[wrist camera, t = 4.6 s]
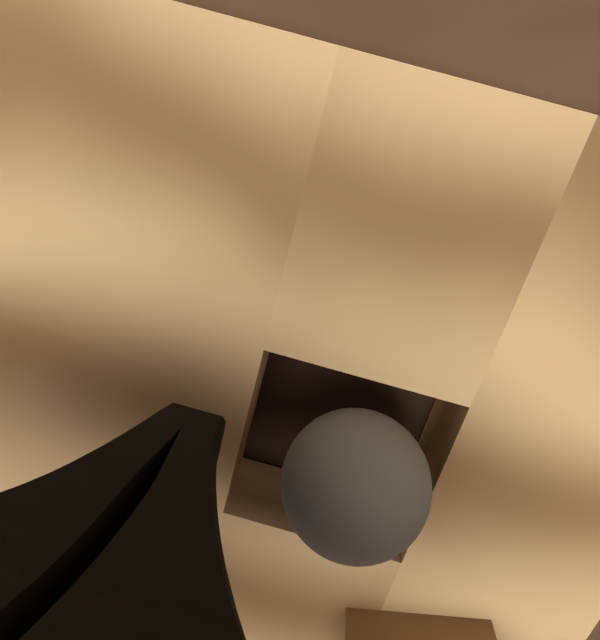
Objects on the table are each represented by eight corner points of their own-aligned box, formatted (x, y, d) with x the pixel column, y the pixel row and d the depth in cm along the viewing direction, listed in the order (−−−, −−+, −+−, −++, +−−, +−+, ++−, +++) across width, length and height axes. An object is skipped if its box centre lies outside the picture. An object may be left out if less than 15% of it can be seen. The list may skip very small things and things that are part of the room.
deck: (484, 679, 18) (504, 760, 15) (-197, 485, 18) (-279, 536, 16) (777, 182, 11) (885, 193, 9) (-282, -104, 12) (-441, -166, 9)
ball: (351, 500, 14) (435, 592, 11) (241, 506, 12) (306, 617, 9) (388, 389, 14) (487, 456, 11) (278, 378, 12) (361, 455, 9)
